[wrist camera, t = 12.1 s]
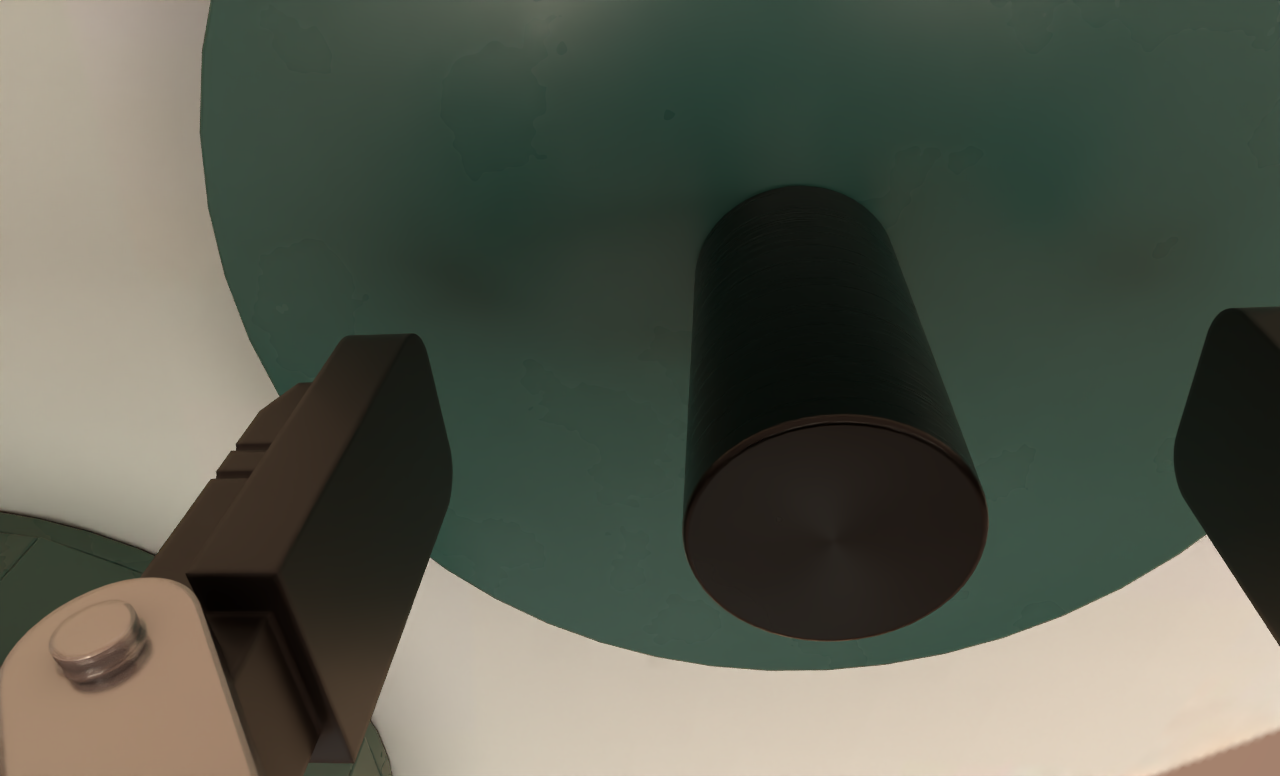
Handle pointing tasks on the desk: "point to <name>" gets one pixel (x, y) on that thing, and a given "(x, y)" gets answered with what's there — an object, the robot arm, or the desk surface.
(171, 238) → the desk surface
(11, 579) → the pot
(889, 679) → the desk surface
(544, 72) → the lid
